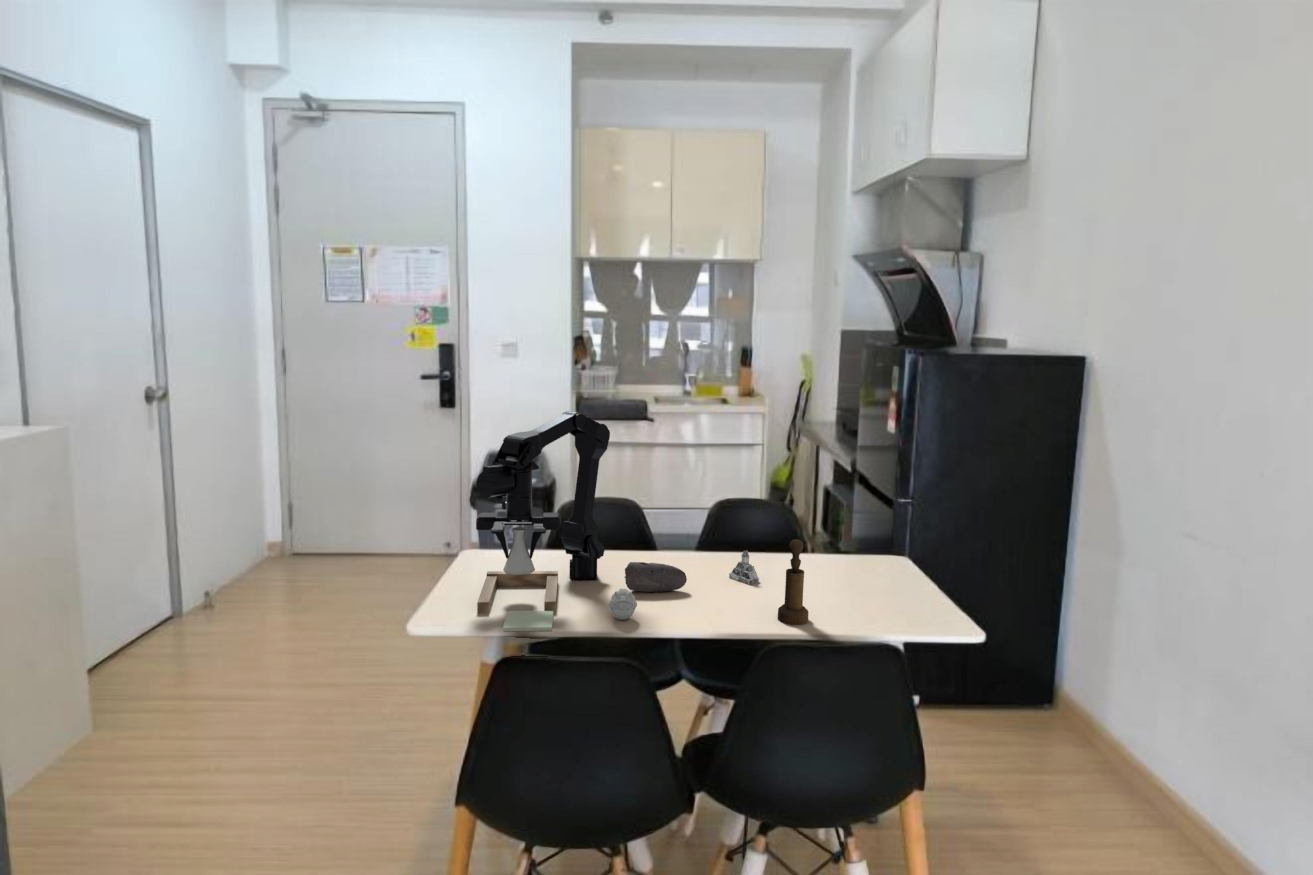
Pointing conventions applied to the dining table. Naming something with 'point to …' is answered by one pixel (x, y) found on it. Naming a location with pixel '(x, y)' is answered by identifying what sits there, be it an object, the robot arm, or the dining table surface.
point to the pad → (528, 621)
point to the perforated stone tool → (653, 577)
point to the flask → (519, 555)
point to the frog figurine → (622, 604)
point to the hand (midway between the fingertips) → (519, 557)
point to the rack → (531, 579)
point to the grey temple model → (744, 571)
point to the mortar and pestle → (794, 590)
